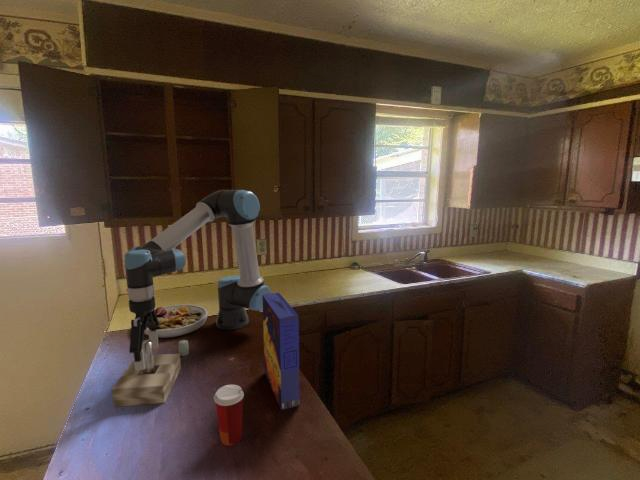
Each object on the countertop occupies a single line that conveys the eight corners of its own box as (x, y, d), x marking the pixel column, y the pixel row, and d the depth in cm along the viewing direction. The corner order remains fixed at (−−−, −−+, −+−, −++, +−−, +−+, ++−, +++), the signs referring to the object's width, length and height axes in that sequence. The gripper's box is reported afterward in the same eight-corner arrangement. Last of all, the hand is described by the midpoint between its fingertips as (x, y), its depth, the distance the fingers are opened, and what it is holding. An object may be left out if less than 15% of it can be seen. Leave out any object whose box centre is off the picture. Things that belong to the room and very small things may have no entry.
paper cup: (247, 427, 99) (246, 383, 96) (242, 448, 91) (240, 400, 89) (220, 428, 99) (217, 383, 96) (212, 449, 91) (209, 401, 89)
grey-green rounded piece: (189, 351, 142) (188, 339, 141) (187, 355, 138) (186, 344, 137) (180, 351, 141) (179, 340, 140) (178, 356, 138) (177, 344, 137)
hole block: (180, 368, 129) (179, 353, 128) (164, 402, 110) (163, 385, 109) (138, 371, 127) (136, 356, 126) (113, 406, 108) (111, 389, 107)
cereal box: (264, 373, 126) (262, 294, 121) (280, 369, 128) (279, 292, 123) (281, 410, 106) (278, 317, 101) (299, 405, 108) (298, 314, 103)
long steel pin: (157, 382, 120) (153, 339, 117) (154, 388, 117) (149, 344, 114) (146, 383, 120) (142, 340, 117) (142, 389, 116) (138, 345, 113)
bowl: (217, 314, 179) (216, 300, 177) (190, 342, 150) (188, 325, 148) (161, 312, 182) (160, 298, 180) (124, 339, 153) (122, 322, 151)
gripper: (143, 286, 124) (148, 341, 128) (111, 313, 100) (119, 380, 104) (165, 285, 125) (170, 340, 129) (139, 312, 101) (146, 378, 105)
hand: (147, 358), depth 117 cm, fingers open, 13 cm apart
